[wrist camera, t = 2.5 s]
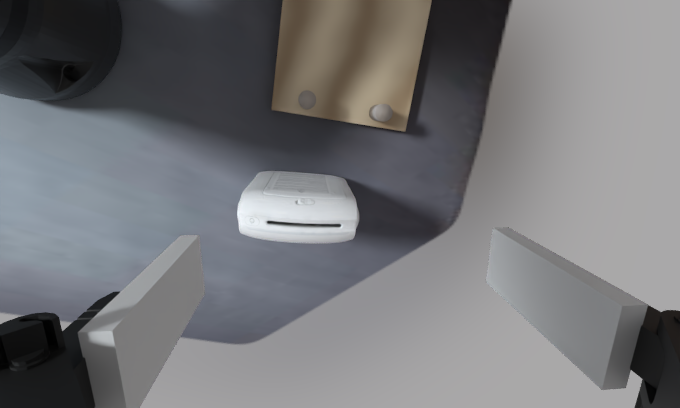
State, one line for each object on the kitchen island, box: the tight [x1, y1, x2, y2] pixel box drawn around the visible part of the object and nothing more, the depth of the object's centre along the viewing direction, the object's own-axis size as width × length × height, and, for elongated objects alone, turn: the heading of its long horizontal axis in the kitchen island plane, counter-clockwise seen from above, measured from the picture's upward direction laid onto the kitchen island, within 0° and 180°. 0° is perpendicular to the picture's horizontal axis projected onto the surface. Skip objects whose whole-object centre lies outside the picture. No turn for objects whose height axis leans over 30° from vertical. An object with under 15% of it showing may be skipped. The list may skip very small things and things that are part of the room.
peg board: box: [271, 0, 432, 132], centre depth 32 cm, size 14×16×5 cm
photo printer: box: [237, 171, 359, 243], centre depth 31 cm, size 10×4×12 cm, turn 85°
